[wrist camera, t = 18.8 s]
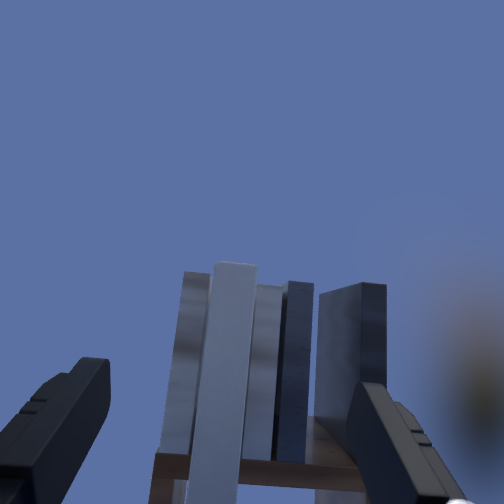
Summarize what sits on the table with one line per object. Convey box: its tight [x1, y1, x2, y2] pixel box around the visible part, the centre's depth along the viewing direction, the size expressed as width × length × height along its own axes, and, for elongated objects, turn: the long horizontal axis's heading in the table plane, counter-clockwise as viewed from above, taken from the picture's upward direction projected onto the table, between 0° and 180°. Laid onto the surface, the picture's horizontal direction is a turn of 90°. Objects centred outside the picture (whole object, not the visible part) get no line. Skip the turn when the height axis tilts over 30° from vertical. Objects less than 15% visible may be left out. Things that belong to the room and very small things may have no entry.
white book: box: [186, 261, 257, 504], centre depth 24 cm, size 20×2×12 cm, turn 4°
